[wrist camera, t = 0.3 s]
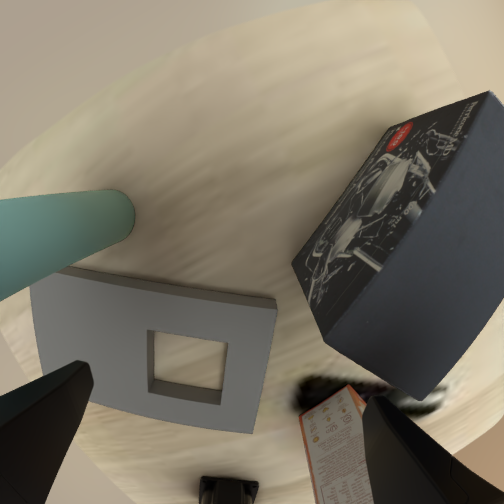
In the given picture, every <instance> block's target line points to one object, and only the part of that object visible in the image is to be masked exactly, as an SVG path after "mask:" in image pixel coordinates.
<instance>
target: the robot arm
mask: <svg viewBox="0 0 504 504" xmlns="http://www.w3.org/2000/svg"><path fill="white" fill-rule="evenodd" d="M93 387H94V379H93V376H92V372H91V368H90V365H89V363H87V362H85V361H81V360H76V361H73V362H71V363H69V364H67V365H65V366H63V367H61V368H59V369H57V370H55V371H53V372H51V373H49V374H46V375H44V376H42V377H40V378H38V379H36V380H34V381H32V382H30V383H28V384H26V385H23V386H21V387H19V388H17V389H15V390H13V391H10V392H9V393H6V394H4V395H2V396H0V504H45V502H46V499H47V497H48V494H49V492H50V489H51V487H52V485H53V482H54V480H55V477H56V475H57V473H58V470H59V468H60V466H61V464H62V462H63V459H64V457H65V455H66V452H67V451H68V448H69V446H70V444H71V442H72V440H73V438H74V436H75V434H76V431H77V429H78V427H79V425H80V423H81V420H82V418H83V415H84V412H85V409H86V406H87V403H88V401H89V398H90V395H91V392H92V390H93ZM362 425H363V437H364V449H365V459H366V465H367V470H368V475H369V480H370V486H371V491H372V497H373V502H374V504H504V492H503V491H501V490H499V489H498V488H496V487H495V486H493V485H492V484H490V483H489V482H487V481H486V480H484V479H483V478H481V477H479V476H478V475H477V474H475V473H474V472H472V471H471V470H470V469H468V468H467V467H466V466H464V465H463V464H462V463H461V462H460V461H458V460H457V459H456V458H455V457H453V456H452V455H451V454H450V453H449V452H448V451H447V450H445V449H444V448H443V447H442V446H441V445H440V444H438V443H437V442H436V441H435V440H434V439H433V438H431V437H430V436H429V435H428V434H427V433H426V432H424V431H423V430H422V429H421V428H420V427H419V426H418V425H416V424H415V423H414V422H413V421H412V420H411V419H409V418H408V417H407V416H406V415H405V414H404V413H403V412H401V411H400V410H399V409H398V408H397V407H396V406H395V405H393V404H392V403H391V402H390V401H389V400H388V399H387V398H386V397H384V396H371V397H370V398H369V400H368V403H367V405H366V407H365V409H364V412H363V414H362ZM258 488H259V483H257V482H248V481H236V480H227V479H218V478H210V477H201V479H200V492H199V504H253V503H254V500H255V497H256V494H257V491H258Z"/></svg>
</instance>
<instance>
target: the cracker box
mask: <svg viewBox="0 0 504 504" xmlns="http://www.w3.org/2000/svg"><path fill="white" fill-rule="evenodd" d="M366 405H367V404H366V403H365V402H364V400H363V399H362V398H361V397H360V396H359V395H358V394H357V392H356V391H355V390H354V389H353V388H352V387H351V386H350V385H349V384H348V385H346V386H345V387H344V388H342V389H341V390H339V391H338V392H336V393H335V394H333V395H332V396H330V397H329V398H327V399H326V400H324V401H323V402H321V403H320V404H318V405H316V406H315V407H313V408H312V409H310V410H309V411H307V412H305V413H304V414H302V415H300V416H299V421H300V426H301V431H302V435H303V440H304V446H305V451H306V456H307V461H308V466H309V471H310V477H311V482H312V487H313V492H314V498H315V503H316V504H374V502H373V497H372V491H371V486H370V480H369V475H368V470H367V465H366V459H365V449H364V437H363V425H362V414H363V412H364V409H365V407H366Z"/></svg>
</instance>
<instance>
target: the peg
mask: <svg viewBox="0 0 504 504" xmlns="http://www.w3.org/2000/svg"><path fill="white" fill-rule="evenodd" d="M134 222H135V212H134V208H133V205H132V203H131V201H130V199H129V198H128V197H127V196H126V195H125V194H123V193H122V192H120V191H117V190H97V191H83V192H71V193H59V194H49V195H39V196H29V197H20V198H12V199H4V200H0V301H2V300H4V299H6V298H7V297H9V296H11V295H13V294H15V293H17V292H19V291H20V290H22V289H24V288H26V287H28V286H30V285H32V284H34V283H36V282H37V281H39V280H41V279H43V278H45V277H47V276H49V275H51V274H53V273H55V272H57V271H59V270H61V269H63V268H65V267H67V266H69V265H71V264H73V263H75V262H77V261H79V260H81V259H83V258H85V257H87V256H90V255H92V254H94V253H96V252H98V251H100V250H102V249H104V248H106V247H109V246H111V245H113V244H115V243H117V242H119V241H122V240H123V239H125V238H126V237H127V236H128V235H129V234H130V232H131V231H132V228H133V226H134Z"/></svg>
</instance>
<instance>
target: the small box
mask: <svg viewBox="0 0 504 504" xmlns="http://www.w3.org/2000/svg"><path fill="white" fill-rule="evenodd" d="M292 267H293V269H294V271H295V273H296V275H297V278H298V280H299V282H300V285H301V287H302V289H303V292H304V294H305V296H306V299H307V301H308V304H309V306H310V308H311V311H312V313H313V315H314V318H315V320H316V323H317V325H318V327H319V330H320V333H321V335H322V337H323V341H324V342H325V343H326V344H327V345H329V346H330V347H332V348H333V349H335V350H336V351H338V352H339V353H341V354H342V355H344V356H346V357H347V358H349V359H351V360H352V361H354V362H355V363H356V364H358V365H360V366H362V367H363V368H365V369H366V370H368V371H370V372H372V373H373V374H375V375H376V376H378V377H379V378H381V379H383V380H384V381H386V382H387V383H389V384H390V385H392V386H394V387H396V388H397V389H399V390H401V391H403V392H404V393H406V394H407V395H409V396H411V397H413V398H414V399H416V400H418V401H422V400H424V399H425V398H426V396H427V395H428V394H429V393H430V392H431V391H432V390H433V389H434V388H435V387H436V386H437V385H438V384H439V383H440V382H441V380H442V379H443V378H444V377H445V376H446V375H447V373H448V372H449V371H450V370H451V369H452V368H453V366H454V365H455V364H456V363H457V361H458V360H459V359H460V358H461V357H462V355H463V354H464V353H465V352H466V350H467V349H468V348H469V347H470V345H471V344H472V343H473V341H474V340H475V339H476V337H477V336H478V335H479V333H480V332H481V331H482V329H483V328H484V326H485V325H486V323H487V322H488V320H489V319H490V318H491V316H492V315H493V313H494V312H495V310H496V309H497V307H498V306H499V304H500V303H501V301H502V300H503V298H504V105H503V104H502V103H501V101H500V100H499V99H498V98H497V97H496V95H495V94H494V93H493V92H492V91H490V90H489V91H486V92H484V93H481V94H478V95H475V96H472V97H469V98H467V99H464V100H461V101H458V102H455V103H453V104H449V105H447V106H444V107H441V108H438V109H436V110H433V111H430V112H427V113H425V114H422V115H420V116H417V117H414V118H412V119H409V120H407V121H405V122H402V123H400V124H397V125H394V126H392V127H390V128H389V129H388V130H387V132H386V133H385V135H384V136H383V137H382V139H381V140H380V142H379V143H378V145H377V146H376V148H375V149H374V151H373V152H372V153H371V155H370V156H369V158H368V159H367V160H366V162H365V163H364V165H363V166H362V168H361V169H360V170H359V172H358V173H357V175H356V176H355V177H354V179H353V180H352V181H351V183H350V184H349V186H348V187H347V189H346V190H345V191H344V193H343V194H342V195H341V197H340V198H339V200H338V201H337V202H336V204H335V205H334V206H333V208H332V209H331V211H330V212H329V213H328V215H327V216H326V217H325V219H324V220H323V222H322V223H321V224H320V226H319V227H318V228H317V230H316V231H315V232H314V234H313V235H312V236H311V238H310V239H309V240H308V242H307V243H306V244H305V246H304V247H303V248H302V250H301V251H300V252H299V253H298V255H297V256H296V258H295V259H294V260H293V261H292Z"/></svg>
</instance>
